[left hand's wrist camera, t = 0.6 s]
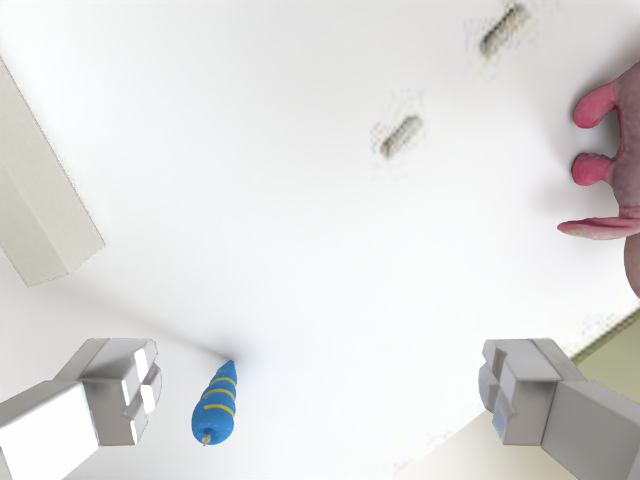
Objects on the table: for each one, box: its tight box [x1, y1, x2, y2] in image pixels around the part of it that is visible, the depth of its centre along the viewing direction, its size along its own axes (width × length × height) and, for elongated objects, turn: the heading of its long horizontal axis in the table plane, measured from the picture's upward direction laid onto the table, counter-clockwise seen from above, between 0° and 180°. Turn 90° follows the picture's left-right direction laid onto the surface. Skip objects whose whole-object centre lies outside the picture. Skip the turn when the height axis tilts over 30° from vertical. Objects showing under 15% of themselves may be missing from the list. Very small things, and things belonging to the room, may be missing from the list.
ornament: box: [192, 360, 237, 446], centre depth 56 cm, size 5×5×15 cm
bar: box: [0, 58, 105, 288], centre depth 49 cm, size 26×6×9 cm, turn 19°
